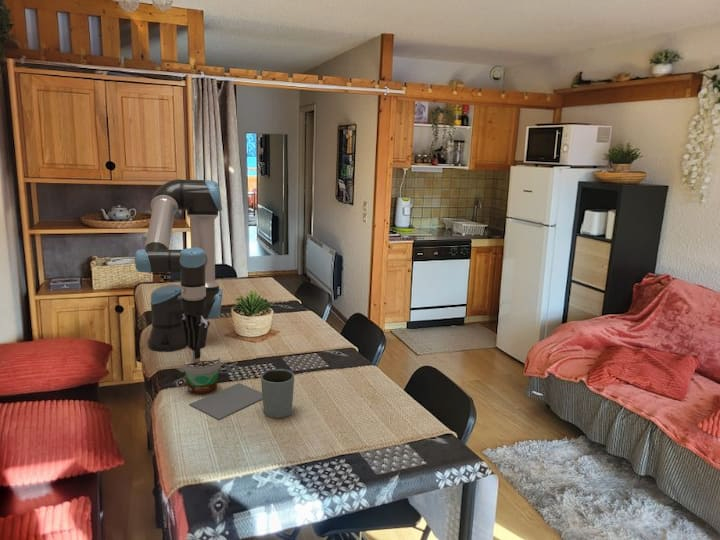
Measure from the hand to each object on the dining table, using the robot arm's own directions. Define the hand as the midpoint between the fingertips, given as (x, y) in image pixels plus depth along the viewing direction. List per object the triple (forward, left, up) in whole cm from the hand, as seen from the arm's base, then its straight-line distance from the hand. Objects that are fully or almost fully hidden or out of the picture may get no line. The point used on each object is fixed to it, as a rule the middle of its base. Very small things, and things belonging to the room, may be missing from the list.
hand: (195, 366), depth 175 cm
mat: (+15, +1, -7) cm, 17 cm away
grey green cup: (+31, +6, -8) cm, 33 cm away
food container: (+4, 0, -8) cm, 9 cm away
